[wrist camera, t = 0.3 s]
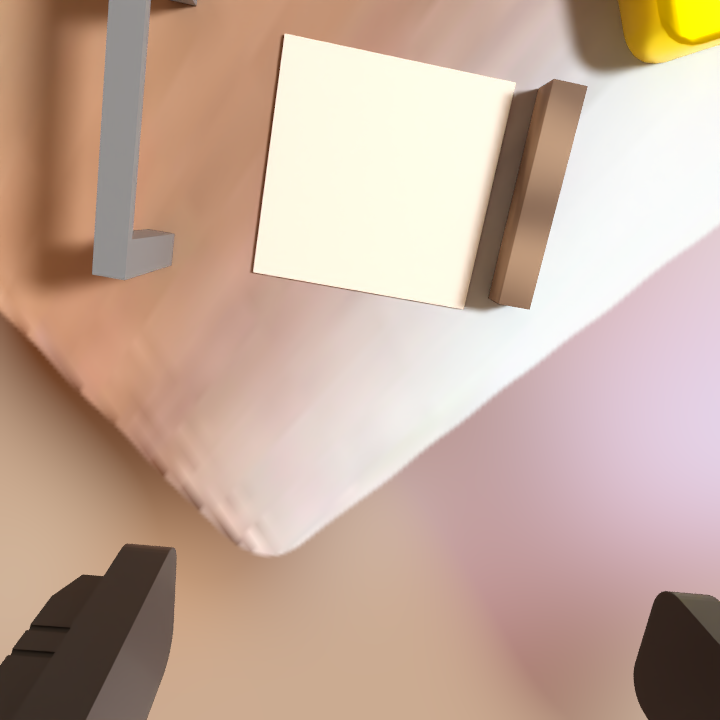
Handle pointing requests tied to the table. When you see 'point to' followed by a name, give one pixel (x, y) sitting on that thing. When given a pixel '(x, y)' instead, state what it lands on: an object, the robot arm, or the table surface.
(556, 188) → the stopper
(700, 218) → the table surface
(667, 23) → the element tile
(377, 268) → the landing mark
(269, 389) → the table surface
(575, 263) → the table surface
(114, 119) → the grey u-shaped frame
